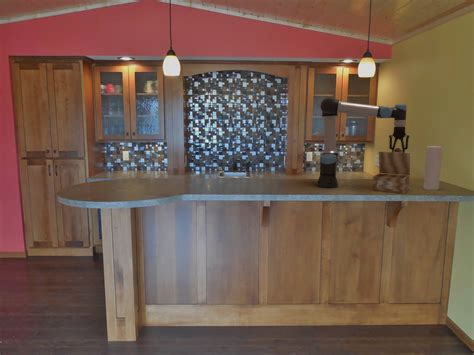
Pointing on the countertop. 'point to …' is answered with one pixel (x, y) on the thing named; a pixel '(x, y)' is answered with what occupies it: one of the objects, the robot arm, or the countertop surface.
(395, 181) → the brown wooden box
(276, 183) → the countertop surface
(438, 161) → the cylinder container
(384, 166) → the wooden lid with knob
